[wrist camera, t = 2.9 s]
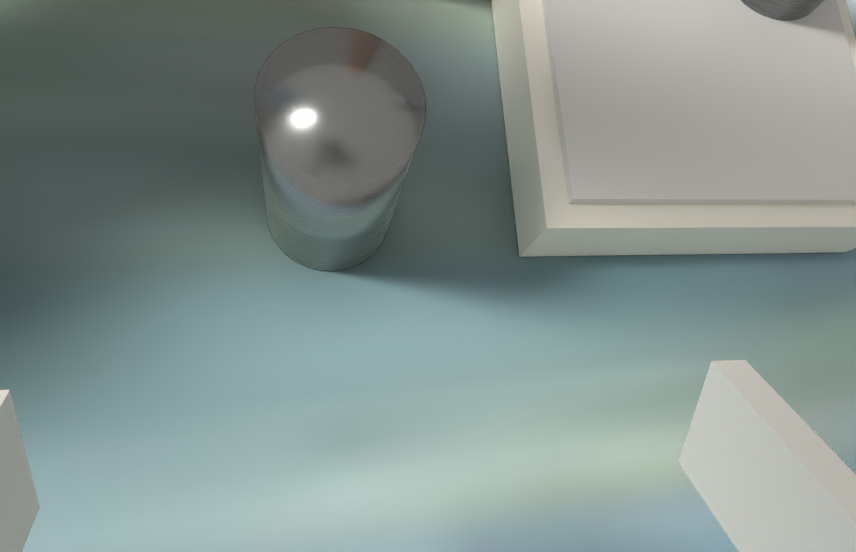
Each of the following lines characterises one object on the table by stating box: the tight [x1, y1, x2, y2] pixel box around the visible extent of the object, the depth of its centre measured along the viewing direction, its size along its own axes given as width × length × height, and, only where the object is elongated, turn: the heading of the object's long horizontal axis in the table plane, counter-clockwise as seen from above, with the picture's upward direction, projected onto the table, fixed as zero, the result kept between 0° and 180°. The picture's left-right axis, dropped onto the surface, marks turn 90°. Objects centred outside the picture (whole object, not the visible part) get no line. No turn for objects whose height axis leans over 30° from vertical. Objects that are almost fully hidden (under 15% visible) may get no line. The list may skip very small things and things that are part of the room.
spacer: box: [254, 27, 426, 271], centre depth 25 cm, size 5×5×9 cm
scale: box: [491, 0, 856, 257], centre depth 32 cm, size 17×16×4 cm
